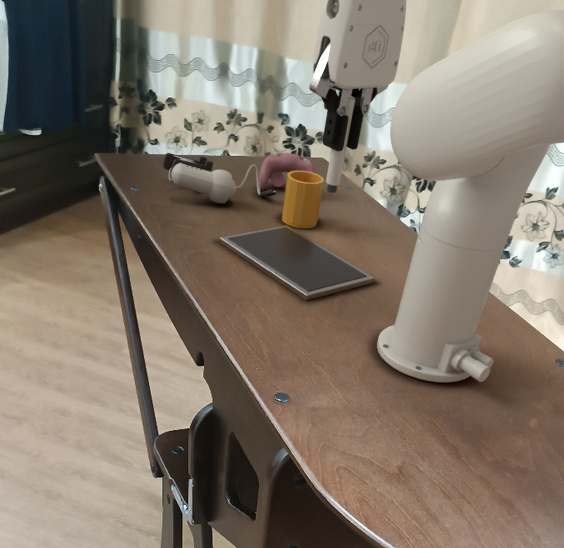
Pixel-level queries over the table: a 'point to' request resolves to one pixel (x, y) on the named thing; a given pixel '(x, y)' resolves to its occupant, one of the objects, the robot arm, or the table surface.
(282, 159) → the video game controller
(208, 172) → the clip-on lamp
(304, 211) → the pen cup
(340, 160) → the stylus
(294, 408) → the table surface
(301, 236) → the tablet
